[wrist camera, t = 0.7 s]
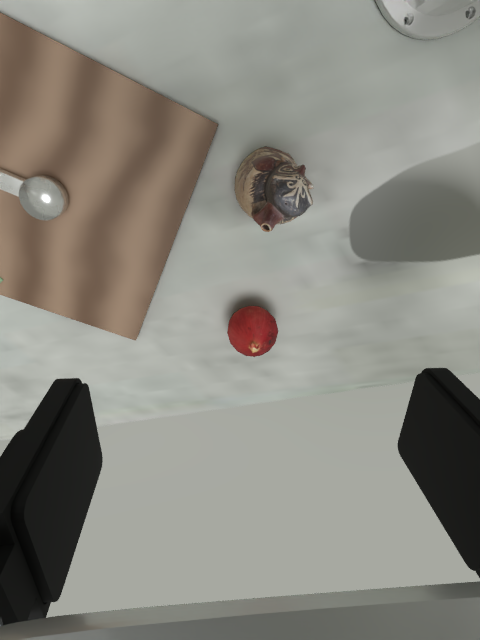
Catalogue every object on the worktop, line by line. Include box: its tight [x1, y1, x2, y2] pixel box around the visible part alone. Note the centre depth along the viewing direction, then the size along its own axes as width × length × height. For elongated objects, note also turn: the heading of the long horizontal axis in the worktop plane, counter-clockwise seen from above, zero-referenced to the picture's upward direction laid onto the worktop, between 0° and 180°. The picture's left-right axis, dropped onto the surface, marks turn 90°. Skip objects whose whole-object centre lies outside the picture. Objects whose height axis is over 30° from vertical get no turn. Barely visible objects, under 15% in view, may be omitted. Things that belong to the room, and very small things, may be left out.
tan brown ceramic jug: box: [235, 147, 313, 232], centre depth 34 cm, size 7×7×12 cm
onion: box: [227, 306, 278, 357], centre depth 43 cm, size 6×6×8 cm
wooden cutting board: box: [0, 13, 218, 340], centre depth 38 cm, size 26×26×1 cm
